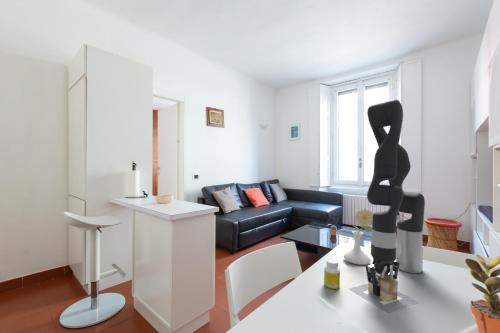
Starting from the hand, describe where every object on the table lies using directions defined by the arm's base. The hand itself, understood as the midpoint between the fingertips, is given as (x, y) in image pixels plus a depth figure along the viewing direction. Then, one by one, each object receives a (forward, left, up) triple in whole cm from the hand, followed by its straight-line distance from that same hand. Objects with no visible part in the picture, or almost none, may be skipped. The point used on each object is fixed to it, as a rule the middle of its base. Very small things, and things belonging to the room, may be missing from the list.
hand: (382, 293), depth 80 cm
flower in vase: (-16, -24, -1) cm, 29 cm away
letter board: (0, 0, -1) cm, 1 cm away
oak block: (0, 0, -1) cm, 1 cm away
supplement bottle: (+12, -11, -1) cm, 16 cm away
